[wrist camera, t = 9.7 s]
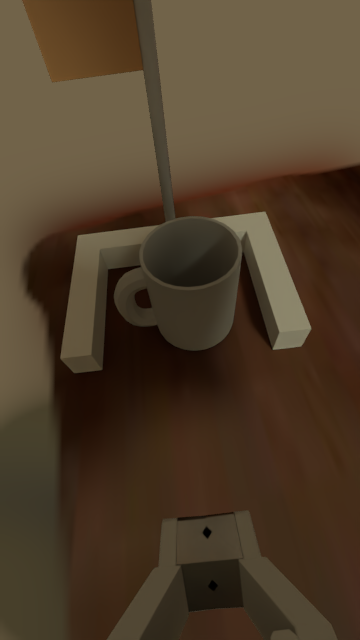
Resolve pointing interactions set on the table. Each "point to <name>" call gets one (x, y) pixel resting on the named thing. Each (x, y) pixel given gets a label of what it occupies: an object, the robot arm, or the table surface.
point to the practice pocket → (124, 245)
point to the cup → (185, 282)
